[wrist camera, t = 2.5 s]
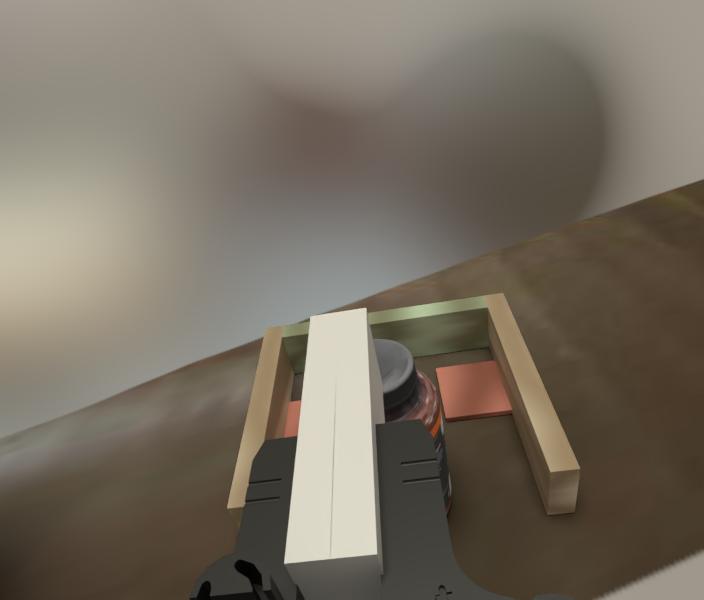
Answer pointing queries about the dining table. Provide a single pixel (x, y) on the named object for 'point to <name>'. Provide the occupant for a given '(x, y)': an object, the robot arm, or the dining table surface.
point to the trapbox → (454, 382)
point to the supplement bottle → (412, 400)
